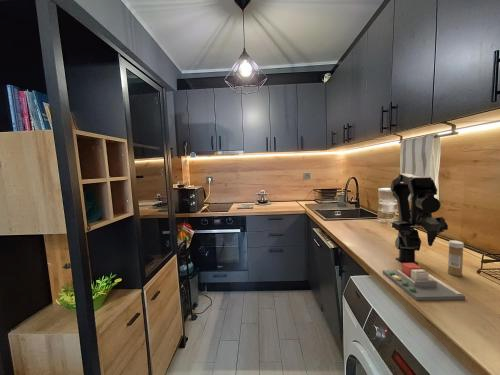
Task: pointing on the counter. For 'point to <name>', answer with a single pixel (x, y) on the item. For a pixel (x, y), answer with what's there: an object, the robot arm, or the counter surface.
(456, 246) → the sprinkles bottle
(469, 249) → the counter surface
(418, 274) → the panel
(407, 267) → the cap
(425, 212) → the robot arm
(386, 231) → the counter surface
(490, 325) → the counter surface
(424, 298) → the breaker panel
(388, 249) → the counter surface
